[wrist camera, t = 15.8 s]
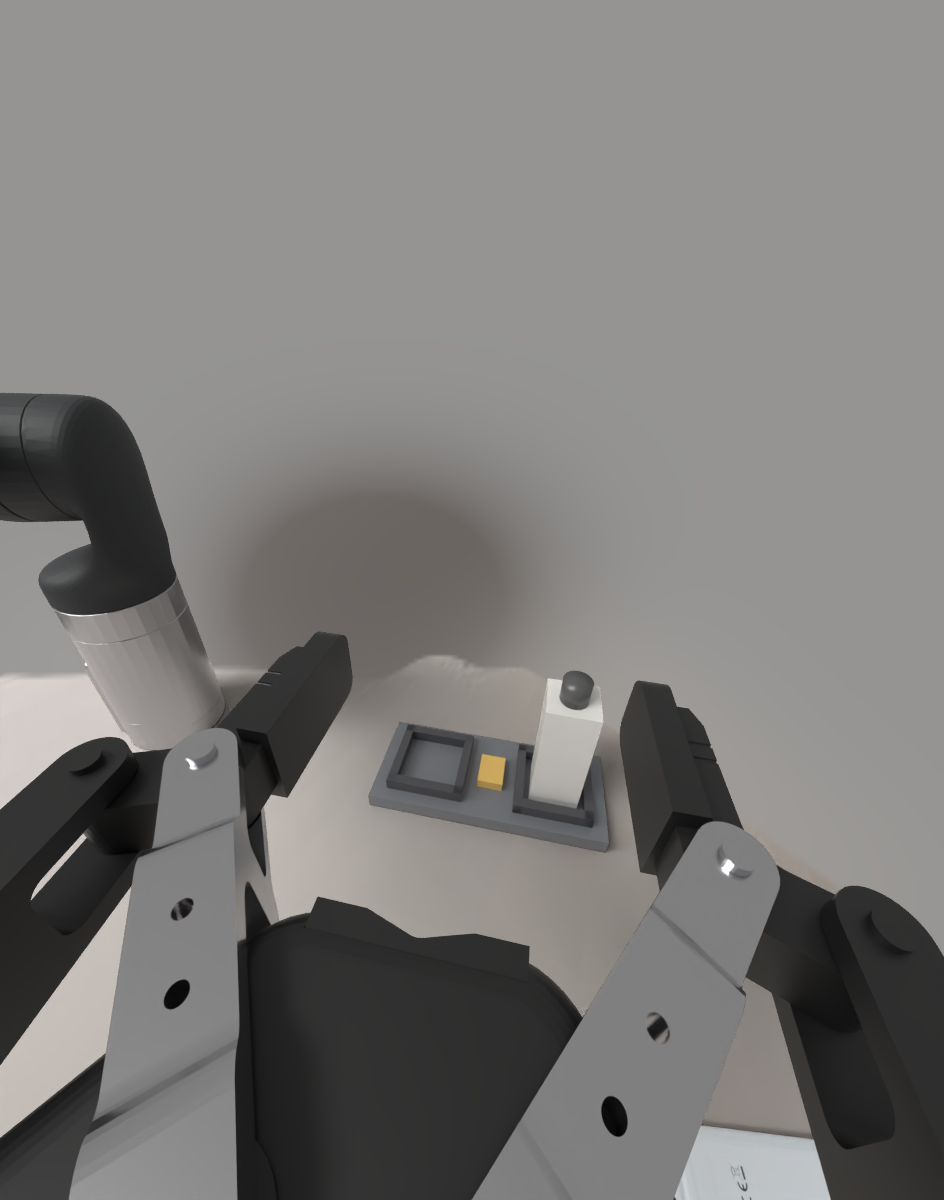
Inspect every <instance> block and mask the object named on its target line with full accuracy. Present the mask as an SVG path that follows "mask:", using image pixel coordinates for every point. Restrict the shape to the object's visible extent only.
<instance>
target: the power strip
mask: <svg viewBox="0 0 944 1200" xmlns="http://www.w3.org/2000/svg"><path fill="white" fill-rule="evenodd" d="M534 748H535V746H534V745H528V744H523V743H517V742H511V741H506V740H500V739H494V738H489V737H483V736H477V735H471V734H466V733H460V732H454V731H449V730H443V729H437V728H432V727H426V726H420V725H414V724H409V723H403V722H399V724H398V727H397V729H396V731H395V734H394V736H393V739H392V741H391V743H390V746H389V748H388V751H387V753H386V755H385V758H384V760H383V762H382V765H381V767H380V770H379V772H378V774H377V777H376V779H375V781H374V784H373V786H372V789H371V791H370V793H369V802H370V805H374V806H378V807H383V808H388V809H393V810H398V811H403V812H408V813H413V814H418V815H423V816H428V817H433V818H438V819H442V820H447V821H452V822H457V823H462V824H467V825H472V826H477V827H482V828H487V829H492V830H497V831H502V832H506V833H511V834H516V835H521V836H526V837H531V838H536V839H541V840H546V841H551V842H556V843H561V844H566V845H570V846H575V847H580V848H585V849H590V850H595V851H600V852H606V850H607V847H608V845H609V838H608V828H607V818H606V808H605V799H604V789H603V779H602V770H601V760H600V757H597V756H593V757H592V760H591V763H590V767H589V770H588V773H587V776H586V779H585V782H584V786H583V789H582V792H581V795H580V798H579V801H578V805H577V808H571V807H565V806H560V805H555V804H550V803H545V802H539V801H534V800H529V799H528V796H529V784H530V772H531V763H532V758H533V753H534Z"/></svg>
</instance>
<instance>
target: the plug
mask: <svg viewBox="0 0 944 1200" xmlns="http://www.w3.org/2000/svg"><path fill="white" fill-rule="evenodd" d="M602 726H603V713H602V704H601V693H600V687H598V686H594V682H593V680H592V678H591V677H590V676H589V675H587V674H585V673H583V672H580V671H570V672H567V673H566V674H565V675H564V677H563V681H562V680H555V679H550V678H548V681H547V686H546V691H545V696H544V701H543V707H542V712H541V717H540V722H539V727H538V732H537V737H536V742H535V748H534V753H533V758H532V763H531V772H530V784H529V796H528V799H529V800H534V801H539V802H545V803H550V804H555V805H560V806H565V807H571V808H577V805H578V801H579V798H580V795H581V792H582V789H583V786H584V782H585V779H586V776H587V773H588V770H589V767H590V763H591V760H592V757H593V754H594V751H595V748H596V745H597V741H598V738H599V735H600V732H601V729H602Z"/></svg>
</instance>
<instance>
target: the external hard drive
mask: <svg viewBox="0 0 944 1200" xmlns="http://www.w3.org/2000/svg"><path fill="white" fill-rule="evenodd" d="M675 1198H676V1200H831V1199H830V1195H829V1192H828V1188H827V1185H826V1181H825V1178H824V1174H823V1171H822V1167H821V1164H820V1160H819V1157H818V1153H817V1149H816V1146H815V1142H814V1139H807V1138H799V1137H791V1136H783V1135H775V1134H767V1133H759V1132H751V1131H743V1130H735V1129H727V1128H719V1127H711V1126H702V1125H701V1127H700V1129H699V1132H698V1135H697V1137H696V1140H695V1143H694V1145H693V1148H692V1151H691V1153H690V1156H689V1159H688V1162H687V1164H686V1167H685V1170H684V1172H683V1175H682V1178H681V1180H680V1183H679V1186H678V1189H677V1191H676V1194H675Z"/></svg>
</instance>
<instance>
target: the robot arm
mask: <svg viewBox="0 0 944 1200" xmlns="http://www.w3.org/2000/svg"><path fill="white" fill-rule="evenodd" d="M0 520H4V521H14V522H48V521H81V520H83V521H84V523H85V526H86V529H87V531H88V534H89V537H90V541H91V544H89V545H86V546H83V547H80V548H78V549H75V550H72V551H70V552H68V553H66V554H64V555H62V556H60V557H58V558H56V559H55V560H53V561H52V562H50V563H49V564H48V565H47V566H45V567H44V568H43V570H42V571H41V573H40V575H39V585H40V587H41V589H42V591H43V593H44V595H45V597H46V598H47V600H48V602H49V603H50V605H51V606H52V608H53V609H54V611H55V613H56V614H57V616H58V618H59V619H60V621H61V623H62V624H63V626H64V628H65V629H66V631H67V633H68V635H69V636H70V638H71V639H72V641H73V643H74V644H75V646H76V648H77V649H78V651H79V653H80V654H81V656H82V658H83V659H84V661H85V664H84V669H85V671H86V673H87V674H88V676H89V678H90V679H91V681H92V683H93V684H94V686H95V688H96V689H97V691H98V693H99V694H100V696H101V698H102V699H103V701H104V703H105V704H106V706H107V708H108V709H109V711H110V713H111V714H112V716H113V718H114V719H115V721H116V722H117V724H118V726H119V727H120V729H121V731H124V732H126V733H127V734H128V736H129V738H130V739H131V741H132V742H133V743H134V744H135V745H136V746H138V747H140V748H142V749H147V750H156V751H147V752H137V753H132V751H131V750H130V748H129V747H128V745H127V743H126V742H125V741H124V740H122V739H120V738H116V737H105V738H99V739H95V740H91V741H88V742H86V743H83V744H81V745H79V746H77V747H75V748H73V749H71V750H69V751H68V752H66V753H65V754H63V755H62V756H61V757H60V758H58V759H57V760H56V761H55V762H54V763H53V764H51V765H50V766H49V767H48V768H47V769H46V770H45V771H43V772H42V773H41V774H40V775H39V776H38V777H37V778H36V779H34V780H33V781H32V782H31V783H30V784H29V785H28V786H26V787H25V788H24V789H23V790H22V791H21V792H20V793H19V794H17V795H16V796H15V797H14V798H13V799H12V800H11V801H10V802H8V803H7V804H6V805H5V806H4V807H3V808H2V809H0V1065H1V1064H2V1062H3V1061H4V1059H5V1058H6V1057H7V1055H8V1054H9V1053H10V1051H11V1050H12V1049H13V1047H14V1046H15V1044H16V1043H17V1042H18V1040H19V1039H20V1038H21V1036H22V1035H23V1033H24V1032H25V1031H26V1029H27V1028H28V1027H29V1025H30V1024H31V1023H32V1021H33V1020H34V1018H35V1017H36V1016H37V1014H38V1013H39V1012H40V1010H41V1009H42V1007H43V1006H44V1005H45V1003H46V1002H47V1001H48V999H49V998H50V997H51V995H52V994H53V992H54V991H55V990H56V988H57V987H58V986H59V984H60V983H61V981H62V980H63V979H64V977H65V976H66V975H67V973H68V972H69V971H70V969H71V968H72V966H73V965H74V964H75V962H76V961H77V960H78V958H79V957H80V955H81V954H82V953H83V951H84V950H85V949H86V947H87V946H88V944H89V943H90V942H91V940H92V939H93V938H94V936H95V935H96V934H97V932H98V931H99V929H100V928H101V927H102V925H103V924H104V923H105V921H106V920H107V918H108V917H109V916H110V914H111V913H112V912H113V910H114V909H115V908H116V906H117V905H118V903H119V902H120V901H121V899H122V898H123V897H124V895H125V894H126V892H127V891H128V890H129V888H130V887H131V886H132V887H131V894H130V900H129V907H128V913H127V920H126V926H125V933H124V939H123V946H122V952H121V958H120V965H119V971H118V978H117V984H116V991H115V997H114V1004H113V1010H112V1017H111V1023H110V1029H109V1036H108V1042H107V1049H106V1053H105V1054H104V1055H103V1056H102V1057H100V1058H99V1059H98V1060H97V1061H95V1062H94V1063H93V1064H92V1065H90V1066H89V1067H88V1068H87V1069H85V1070H84V1071H83V1072H82V1073H80V1074H79V1075H78V1076H77V1077H75V1078H74V1079H73V1080H72V1081H71V1082H69V1083H68V1084H67V1085H66V1086H64V1087H63V1088H62V1089H61V1090H59V1091H58V1092H57V1093H56V1094H54V1095H53V1096H52V1097H51V1098H49V1099H48V1100H47V1101H46V1102H44V1103H43V1104H42V1105H41V1106H39V1107H38V1108H37V1109H36V1110H34V1111H33V1112H32V1113H31V1114H29V1115H28V1116H27V1117H26V1118H24V1119H23V1120H22V1121H21V1122H19V1123H18V1124H17V1125H16V1126H14V1127H13V1128H12V1129H11V1130H9V1131H8V1132H7V1133H6V1134H4V1135H3V1136H2V1137H1V1138H0V1200H676V1198H675V1194H676V1191H677V1189H678V1186H679V1183H680V1180H681V1178H682V1175H683V1172H684V1170H685V1167H686V1164H687V1162H688V1159H689V1156H690V1153H691V1151H692V1148H693V1145H694V1143H695V1140H696V1137H697V1135H698V1132H699V1129H700V1127H701V1124H702V1121H703V1118H704V1116H705V1113H706V1110H707V1108H708V1105H709V1102H710V1100H711V1097H712V1094H713V1091H714V1089H715V1086H716V1083H717V1081H718V1078H719V1075H720V1073H721V1070H722V1067H723V1065H724V1062H725V1059H726V1056H727V1054H728V1051H729V1048H730V1046H731V1043H732V1040H733V1038H734V1035H735V1032H736V1029H737V1027H738V1024H739V1021H740V1019H741V1016H742V1013H743V1009H744V1006H745V1001H746V994H745V992H744V991H743V990H742V986H743V982H744V979H745V977H746V978H748V979H750V980H751V981H753V982H755V983H757V984H758V985H760V986H762V987H763V988H765V989H767V990H768V991H770V992H772V995H773V998H774V1002H775V1005H776V1009H777V1013H778V1016H779V1020H780V1023H781V1027H782V1030H783V1034H784V1037H785V1041H786V1044H787V1048H788V1051H789V1055H790V1058H791V1062H792V1065H793V1069H794V1072H795V1076H796V1079H797V1083H798V1086H799V1090H800V1093H801V1097H802V1100H803V1104H804V1107H805V1111H806V1114H807V1118H808V1121H809V1125H810V1128H811V1132H812V1135H813V1139H814V1142H815V1146H816V1149H817V1153H818V1157H819V1160H820V1164H821V1167H822V1171H823V1174H824V1178H825V1181H826V1185H827V1188H828V1192H829V1195H830V1199H831V1200H944V956H943V955H942V953H941V951H940V950H939V948H938V946H937V945H936V943H935V942H934V940H933V939H932V937H931V936H930V935H929V933H928V932H927V931H926V929H925V928H924V927H923V926H922V925H921V924H920V923H919V922H918V921H917V920H916V919H915V918H914V917H913V916H912V915H911V914H910V913H909V912H908V911H906V910H905V909H904V908H903V907H901V906H900V905H899V904H897V903H896V902H894V901H893V900H891V899H890V898H888V897H886V896H885V895H883V894H881V893H879V892H877V891H874V890H871V889H869V888H866V887H861V886H848V887H844V888H843V889H841V890H840V891H839V892H838V893H837V894H832V893H830V892H828V891H826V890H824V889H822V888H820V887H818V886H816V885H814V884H812V883H810V882H808V881H806V880H803V879H801V878H799V877H797V876H795V875H793V874H791V873H789V872H787V871H786V870H784V869H782V868H780V867H779V866H777V865H776V864H775V862H774V860H773V858H772V857H771V855H770V854H769V853H768V851H767V850H766V849H765V848H764V846H763V845H762V844H761V843H760V842H759V841H758V840H757V839H755V838H754V837H753V836H752V835H750V834H749V833H747V832H746V831H744V829H743V827H742V825H741V822H740V820H739V817H738V815H737V812H736V809H735V807H734V804H733V801H732V799H731V796H730V794H729V791H728V788H727V786H726V783H725V781H724V778H723V775H722V773H721V770H720V768H719V765H718V764H717V763H716V757H715V755H714V752H713V749H712V748H710V745H711V744H710V742H709V739H708V736H707V734H706V731H705V729H704V726H703V725H702V724H701V722H700V721H699V720H698V719H697V718H696V717H695V716H694V714H693V713H692V712H691V711H690V710H689V709H688V708H681V707H677V706H676V703H675V701H674V697H673V694H672V691H671V689H670V687H669V686H668V685H664V684H658V683H651V682H645V681H637V682H636V683H635V684H634V687H633V690H632V693H631V696H630V698H629V701H628V705H627V707H626V710H625V713H624V716H623V719H622V722H621V727H620V746H621V753H622V759H623V765H624V772H625V778H626V784H627V791H628V797H629V804H630V810H631V816H632V823H633V829H634V835H635V842H636V848H637V854H638V861H639V867H640V872H642V873H647V874H652V875H657V878H658V884H659V889H660V893H659V894H658V896H657V897H656V899H655V901H654V902H653V904H652V906H651V907H650V909H649V910H648V912H647V914H646V915H645V917H644V919H643V920H642V922H641V923H640V925H639V927H638V928H637V930H636V932H635V933H634V935H633V936H632V938H631V940H630V941H629V943H628V945H627V946H626V948H625V949H624V951H623V953H622V954H621V956H620V958H619V959H618V961H617V962H616V964H615V966H614V967H613V969H612V971H611V972H610V974H609V975H608V977H607V979H606V980H605V982H604V984H603V985H602V987H601V988H600V990H599V992H598V993H597V995H596V997H595V998H594V1000H593V1001H592V1003H591V1005H590V1006H589V1008H588V1010H587V1011H586V1013H585V1014H584V1016H583V1018H582V1016H581V1015H580V1013H579V1011H578V1010H577V1008H576V1007H575V1005H574V1004H573V1003H572V1002H571V1000H570V999H569V998H568V997H567V995H566V994H565V993H564V992H563V991H562V990H561V989H560V988H559V987H558V986H557V985H556V984H555V983H554V982H553V981H552V980H551V979H550V978H549V977H548V976H546V975H545V974H544V973H543V972H541V971H540V970H539V969H537V968H536V967H534V966H533V965H531V964H529V947H530V946H526V945H522V944H517V943H513V942H509V941H505V940H500V939H496V938H492V937H487V936H483V935H479V934H464V935H452V936H441V937H429V938H416V937H413V936H411V935H409V934H408V933H406V932H404V931H403V930H401V929H400V928H398V927H396V926H395V925H393V924H392V923H390V922H388V921H387V920H385V919H384V918H382V917H380V916H379V915H377V914H376V913H374V912H372V911H371V910H369V909H368V908H364V907H360V906H356V905H351V904H347V903H343V902H338V901H334V900H330V899H326V898H321V897H317V900H316V902H315V904H314V906H313V909H312V911H311V913H304V914H300V915H296V916H292V917H289V918H286V919H284V920H281V921H279V917H278V911H277V906H276V902H275V898H274V894H273V889H272V882H271V873H270V863H269V852H268V842H267V831H266V821H265V812H264V808H263V806H264V805H265V803H266V802H267V800H268V799H269V797H270V795H271V794H272V795H276V796H281V797H286V798H288V796H289V794H290V793H291V791H292V789H293V788H294V786H295V784H296V783H297V781H298V779H299V778H300V776H301V774H302V773H303V771H304V769H305V768H306V766H307V764H308V763H309V761H310V759H311V757H312V756H313V754H314V752H315V751H316V749H317V747H318V746H319V744H320V742H321V741H322V739H323V737H324V736H325V734H326V732H327V731H328V729H329V727H330V726H331V724H332V722H333V721H334V719H335V717H336V716H337V714H338V712H339V711H340V709H341V707H342V706H343V704H344V702H345V700H346V699H347V697H348V695H349V693H350V690H351V686H352V670H351V662H350V655H349V648H348V642H347V638H346V637H345V636H344V635H339V634H332V633H326V632H317V633H315V634H314V635H313V637H312V638H311V639H310V640H309V641H308V642H307V644H306V645H305V646H304V647H298V646H297V647H295V648H294V649H292V650H290V651H289V652H287V653H285V654H284V655H282V656H281V657H279V658H278V660H277V661H276V662H275V663H274V664H273V665H272V666H271V667H270V669H269V670H268V673H265V674H264V675H263V676H262V678H261V679H260V680H259V681H258V684H255V685H254V687H253V688H252V689H251V690H250V691H249V692H248V693H247V694H246V696H245V697H244V698H243V699H242V700H241V701H240V702H239V703H238V705H237V706H236V707H235V708H234V709H233V710H232V711H231V712H230V714H229V715H228V716H227V717H226V718H225V719H224V720H223V721H222V722H221V724H220V725H219V726H218V727H217V728H211V727H212V726H213V725H215V724H216V722H217V721H218V720H219V719H220V717H221V716H222V713H223V711H224V708H225V700H224V697H223V694H222V692H221V689H220V686H219V684H218V681H217V679H216V676H215V673H214V670H213V668H212V665H211V663H210V660H209V657H208V655H207V653H206V650H205V647H204V645H203V642H202V639H201V637H200V634H199V632H198V629H197V626H196V624H195V621H194V619H193V616H192V614H191V611H190V608H189V606H188V603H187V600H186V598H185V596H184V593H183V590H182V588H181V585H180V583H179V580H178V578H177V575H176V572H175V569H174V566H173V564H172V560H171V555H170V549H169V543H168V538H167V534H166V531H165V528H164V525H163V522H162V520H161V517H160V513H159V510H158V507H157V504H156V501H155V498H154V494H153V491H152V487H151V484H150V481H149V477H148V474H147V470H146V468H145V464H144V461H143V458H142V455H141V452H140V450H139V447H138V445H137V443H136V440H135V438H134V436H133V435H132V432H131V431H130V429H129V427H128V426H127V424H126V423H125V421H124V420H123V419H122V417H121V416H120V415H119V414H118V413H117V412H116V411H115V410H114V409H113V408H112V407H111V406H109V405H108V404H107V403H105V402H103V401H102V400H99V399H96V398H93V397H89V396H81V395H65V394H63V395H62V394H26V393H0ZM170 748H172V749H170ZM163 749H166V750H163ZM82 834H84V835H85V836H86V837H87V838H86V839H85V841H84V842H83V843H82V844H81V845H80V846H79V847H78V848H77V850H76V851H75V852H74V853H73V854H72V855H71V856H70V857H69V859H68V860H67V861H66V862H65V863H64V864H63V865H62V866H61V868H60V869H59V870H58V871H57V872H56V873H55V874H54V875H53V877H52V878H51V879H50V880H49V881H48V882H47V883H46V884H45V886H44V887H43V888H42V889H41V890H40V891H39V892H38V893H37V894H36V896H35V897H34V898H33V899H32V900H31V897H32V894H33V892H34V889H35V888H36V886H37V884H38V883H39V882H40V880H41V879H42V878H43V877H44V876H45V875H46V873H47V872H48V871H49V870H50V869H51V868H52V867H53V866H54V865H55V864H56V862H57V861H58V860H59V859H60V858H61V857H62V856H63V855H64V854H65V853H66V851H67V850H68V849H69V848H70V847H71V846H72V845H73V844H74V843H75V842H76V840H77V839H78V838H79V837H80V836H81V835H82Z"/></svg>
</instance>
